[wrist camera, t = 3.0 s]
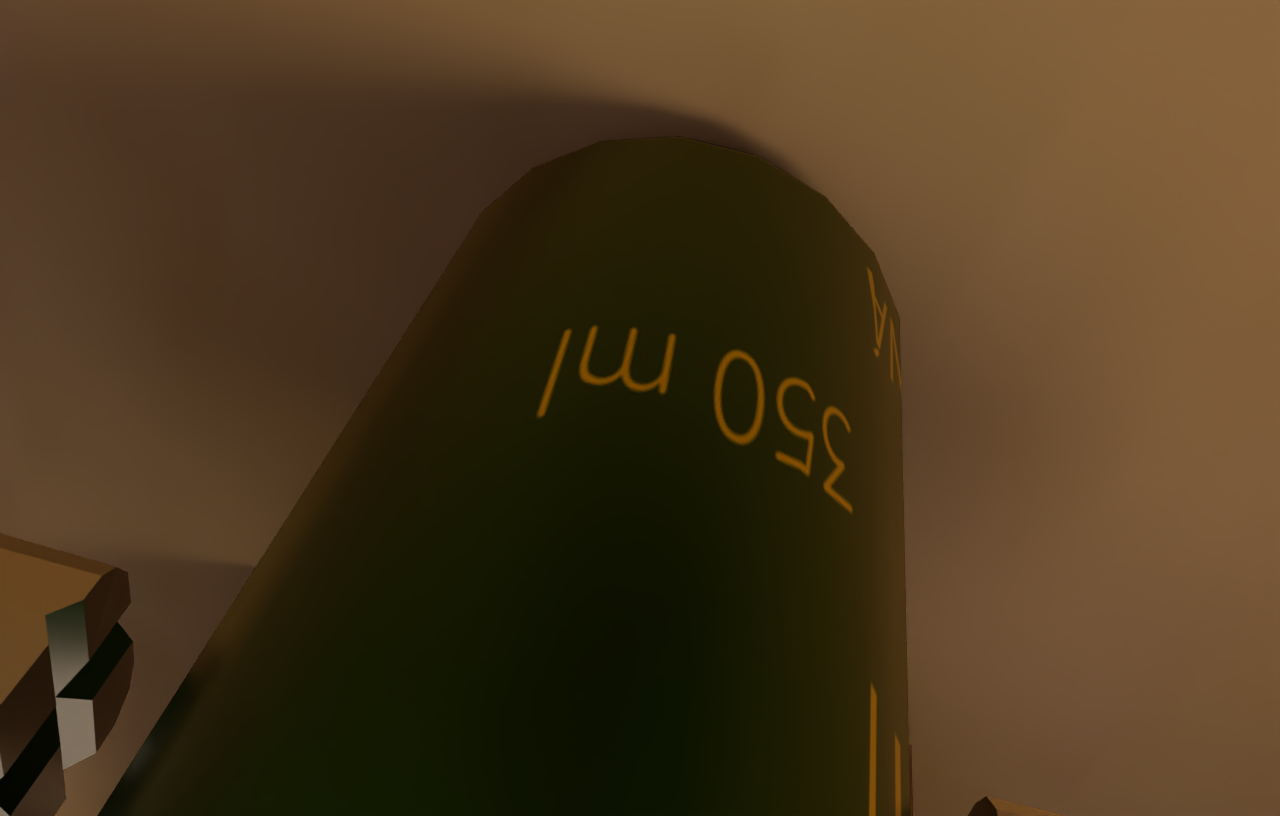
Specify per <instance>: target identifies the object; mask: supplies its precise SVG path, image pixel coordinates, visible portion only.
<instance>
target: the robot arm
mask: <svg viewBox="0 0 1280 816" xmlns="http://www.w3.org/2000/svg"><path fill="white" fill-rule="evenodd" d="M130 603H131V599H130V589H129V580H128V572H125V571H123V570H121V569H119V568H117V567H114V566H110V565H107V564H103V563H100V562H97V561H93V560H90V559H86V558H83V557H80V556H76V555H73V554H69V553H66V552H62V551H59V550H56V549H52V548H49V547H45V546H42V545H39V544H35V543H32V542H28V541H25V540H21V539H18V538H15V537H11V536H8V535H4V534H1V533H0V816H54V815H55V814H56V812H57V811H58V809H59V808H60V806H61V805H62V803H63V802H64V800H65V799H66V796H65V785H64V775H63V770H64V769H66V768H68V767H70V766H72V765H74V764H76V763H78V762H80V761H82V760H84V759H85V758H87V757H89V756H91V755H93V754H95V753H96V752H97V751H98V749H99V748H100V746H101V745H102V743H103V741H104V740H105V738H106V737H107V735H108V734H109V732H110V731H111V729H112V727H113V726H114V724H115V722H116V720H117V717H118V715H119V712H120V710H121V707H122V705H123V703H124V700H125V698H126V695H127V693H128V690H129V686H130V681H131V675H132V669H133V664H134V658H133V641H132V640H131V638H130V637H129V636H128V634H127V633H126V632H125V631H124V629H123V628H122V627H121V626H120V624H119V623H118V622H117V621H118V620H119V618H120V617H121V615H122V614H123V613H124V611H125V610H126V608H127V607H128V606H129V604H130ZM968 816H1064V815H1060V814H1056V813H1052V812H1048V811H1044V810H1040V809H1036V808H1032V807H1028V806H1024V805H1020V804H1016V803H1012V802H1008V801H1005V800H1001V799H997V798H993V797H989V796H986V797H984V798H983V799H981V800H980V801H978V802H977V803H976V804H975V805H974V807H973V808H972V810H971V812H970V813H969V815H968Z"/></svg>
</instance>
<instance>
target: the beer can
mask: <svg viewBox="0 0 1280 816" xmlns="http://www.w3.org/2000/svg"><path fill="white" fill-rule="evenodd" d="M98 816H910V773H909V727H908V681H907V635H906V589H905V543H904V497H903V451H902V405H901V359H900V318H899V315H898V312H897V310H896V307H895V305H894V302H893V300H892V297H891V295H890V292H889V289H888V287H887V284H886V282H885V279H884V277H883V274H882V272H881V269H880V266H879V264H878V261H877V259H876V256H875V254H874V252H873V251H872V250H871V249H870V248H869V247H868V245H867V244H866V243H865V242H864V241H863V240H862V239H861V237H860V236H859V235H858V234H857V233H856V232H855V230H854V229H853V228H852V227H851V226H850V225H849V223H848V222H847V221H846V220H845V219H844V218H843V217H842V215H841V214H840V213H839V212H838V211H837V210H836V208H835V207H834V206H833V205H832V204H831V203H830V202H829V200H828V199H827V198H826V197H825V196H823V195H821V194H820V193H818V192H817V191H815V190H813V189H812V188H810V187H808V186H807V185H805V184H803V183H802V182H800V181H798V180H797V179H795V178H793V177H792V176H790V175H788V174H787V173H785V172H783V171H782V170H780V169H778V168H777V167H775V166H774V165H772V164H770V163H769V162H767V161H765V160H764V159H762V158H760V157H759V156H756V155H752V154H748V153H744V152H740V151H736V150H732V149H728V148H724V147H720V146H716V145H712V144H708V143H704V142H700V141H696V140H692V139H688V138H684V137H663V138H645V139H628V140H610V141H600V142H598V143H595V144H592V145H590V146H587V147H585V148H582V149H580V150H577V151H575V152H572V153H569V154H567V155H564V156H562V157H559V158H557V159H554V160H552V161H549V162H547V163H544V164H541V165H539V166H536V167H534V168H532V169H531V170H530V171H529V172H528V173H526V174H525V175H524V176H523V177H522V178H521V179H520V180H518V181H517V182H516V183H515V184H514V185H513V186H512V187H510V188H509V189H508V190H507V191H506V192H505V193H504V194H502V195H501V196H500V197H499V198H498V199H497V200H495V201H494V202H493V203H492V204H491V205H490V206H489V207H487V208H486V209H485V210H484V211H483V212H482V213H481V214H480V216H479V218H478V219H477V221H476V222H475V224H474V225H473V227H472V229H471V230H470V232H469V233H468V235H467V236H466V238H465V240H464V241H463V243H462V244H461V246H460V247H459V249H458V251H457V252H456V254H455V255H454V257H453V258H452V260H451V262H450V263H449V265H448V266H447V268H446V269H445V271H444V273H443V274H442V276H441V277H440V279H439V280H438V282H437V283H436V285H435V287H434V288H433V290H432V291H431V293H430V294H429V296H428V298H427V299H426V301H425V302H424V304H423V305H422V307H421V309H420V310H419V312H418V313H417V315H416V316H415V318H414V320H413V321H412V323H411V324H410V326H409V327H408V329H407V331H406V332H405V334H404V335H403V337H402V338H401V340H400V342H399V343H398V345H397V346H396V348H395V349H394V351H393V353H392V354H391V356H390V357H389V359H388V360H387V362H386V364H385V365H384V367H383V368H382V370H381V371H380V373H379V375H378V376H377V378H376V379H375V381H374V382H373V384H372V386H371V387H370V389H369V390H368V392H367V393H366V395H365V397H364V398H363V400H362V401H361V403H360V404H359V406H358V408H357V409H356V411H355V412H354V414H353V415H352V417H351V419H350V420H349V422H348V423H347V425H346V426H345V428H344V430H343V431H342V433H341V434H340V436H339V437H338V439H337V441H336V442H335V444H334V445H333V447H332V448H331V450H330V452H329V453H328V455H327V456H326V458H325V459H324V461H323V462H322V464H321V466H320V467H319V469H318V470H317V472H316V473H315V475H314V477H313V478H312V480H311V481H310V483H309V484H308V486H307V488H306V489H305V491H304V492H303V494H302V495H301V497H300V499H299V500H298V502H297V503H296V505H295V506H294V508H293V510H292V511H291V513H290V514H289V516H288V517H287V519H286V521H285V522H284V524H283V525H282V527H281V528H280V530H279V532H278V533H277V535H276V536H275V538H274V539H273V541H272V543H271V544H270V546H269V547H268V549H267V550H266V552H265V554H264V555H263V557H262V558H261V560H260V561H259V563H258V565H257V566H256V568H255V569H254V571H253V572H252V574H251V576H250V577H249V579H248V580H247V582H246V583H245V585H244V587H243V588H242V590H241V591H240V593H239V594H238V596H237V598H236V599H235V601H234V602H233V604H232V605H231V607H230V609H229V610H228V612H227V613H226V615H225V616H224V618H223V620H222V621H221V623H220V624H219V626H218V627H217V629H216V630H215V632H214V634H213V635H212V637H211V638H210V640H209V641H208V643H207V645H206V646H205V648H204V649H203V651H202V652H201V654H200V656H199V657H198V659H197V660H196V662H195V663H194V665H193V667H192V668H191V670H190V671H189V673H188V674H187V676H186V678H185V679H184V681H183V682H182V684H181V685H180V687H179V689H178V690H177V692H176V693H175V695H174V696H173V698H172V700H171V701H170V703H169V704H168V706H167V707H166V709H165V711H164V712H163V714H162V715H161V717H160V718H159V720H158V722H157V723H156V725H155V726H154V728H153V729H152V731H151V733H150V734H149V736H148V737H147V739H146V740H145V742H144V744H143V745H142V747H141V748H140V750H139V751H138V753H137V755H136V756H135V758H134V759H133V761H132V762H131V764H130V766H129V767H128V769H127V770H126V772H125V773H124V775H123V777H122V778H121V780H120V781H119V783H118V784H117V786H116V788H115V789H114V791H113V792H112V794H111V795H110V797H109V799H108V800H107V802H106V803H105V805H104V806H103V808H102V809H101V811H100V813H99V814H98Z"/></svg>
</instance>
